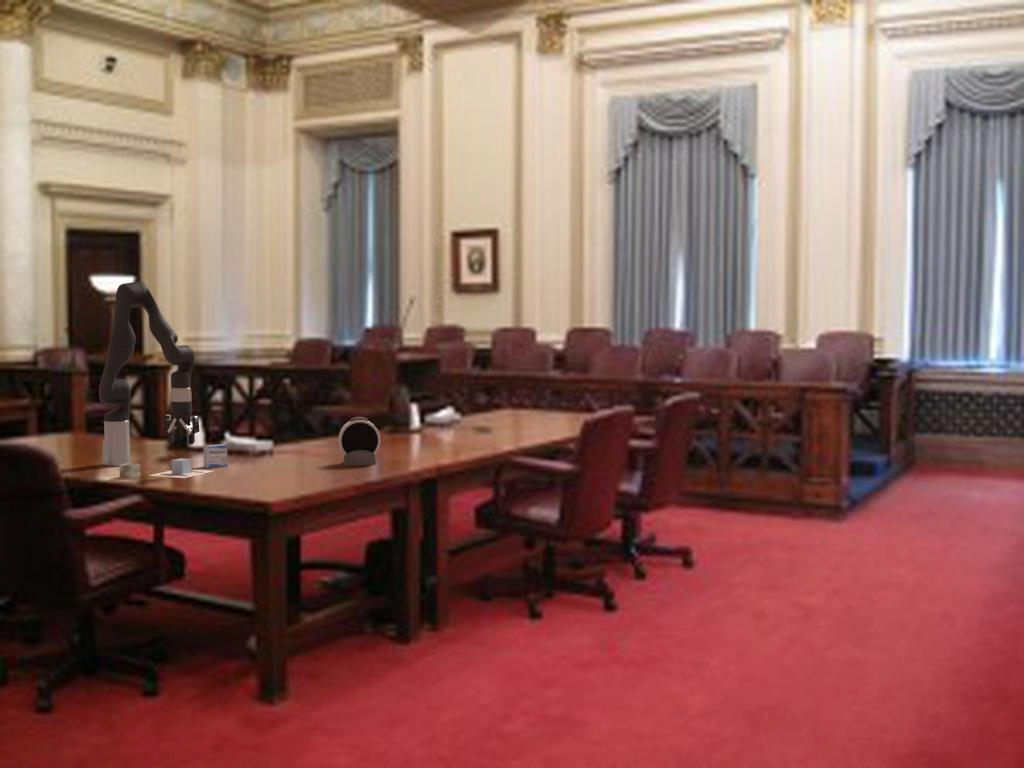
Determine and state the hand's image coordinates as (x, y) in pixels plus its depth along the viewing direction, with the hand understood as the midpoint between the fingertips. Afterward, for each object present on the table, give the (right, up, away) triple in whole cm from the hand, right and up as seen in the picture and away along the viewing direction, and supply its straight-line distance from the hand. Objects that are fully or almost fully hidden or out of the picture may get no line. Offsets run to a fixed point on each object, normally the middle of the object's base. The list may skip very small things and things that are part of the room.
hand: (181, 443), depth 430 cm
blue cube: (0, -11, +1) cm, 11 cm away
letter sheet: (0, -11, +1) cm, 11 cm away
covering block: (-16, -12, -8) cm, 22 cm away
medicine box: (+8, -10, +18) cm, 22 cm away
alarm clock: (+62, -9, +28) cm, 69 cm away
